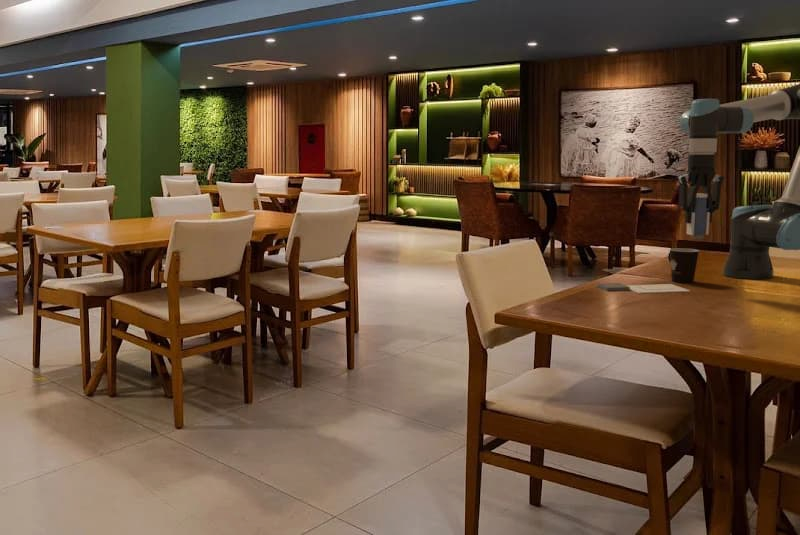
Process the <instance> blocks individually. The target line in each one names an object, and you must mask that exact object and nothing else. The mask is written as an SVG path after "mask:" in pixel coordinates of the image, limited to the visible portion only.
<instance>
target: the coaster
mask: <svg viewBox="0 0 800 535" xmlns="http://www.w3.org/2000/svg"><path fill="white" fill-rule="evenodd" d="M597 288H600V289H602V290H604V291H606V292H615V291H616V292H619V291H620V292H621V291H631V290H630V287H628V285H625V284H623V283H620V282H608V283H607V282H605V283H597Z"/></svg>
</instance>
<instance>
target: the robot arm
mask: <svg viewBox="0 0 800 535" xmlns="http://www.w3.org/2000/svg"><path fill="white" fill-rule="evenodd" d="M690 106H691V107H690V109H688V110H685V111H684V112H683V113H682V115H681V116H680V119H679V120H680V121H679V125H680V128H681V130H682V132H684V133H685V134H688V135H689V137H688V138H689V140H688V153H690V154H688V155H687V171H686V173H685V174H683V175H678V176H677V181H678V184H679V185H678V188H679V190H678V209H679V210H681V211H683V212H684V222H685V224H686V235H690V236H691V235H694V223H695V213H694V212H692V211H693V207H694V203H695V199H696V195H697V193H698V191H699V189H700V187H701V189H702V190H701V191H702V193H704V194H708V197H707V208H706V224H705V234H704V236H705V235H706V236H707V235H708V236H709V232H710V224H711V223H712V222H713V221H712V220H713V213H715V211H717V210H719V209H720V202H721V193H722V192H721V191H722V184H723V182H724V180H725V177H724V176H722V175H719V174H718V173H717V174H716V169H715V168H716V163H717V155H716V154H715V153H716V152H717V150H718V149H717V147H718V146H717V145H718V134H742V133H743V134H744V133H746V132H749V131H750V129H751V128H752V127H753V125H754V123H757V122H762V121H767V120H768V121H769V120H775V121H782V120H800V83H798V84H795V85H792V86H791V85H790V86H788V87H785V88H781V89H775V90H773V91H771V93H769V94H767V95H763V96H757V97H752V98H748V99H744V100H743V99H742V100H737V101H733V102H728V103H723V104H720V100H719V99H717V98H698V99H694V100H693V101H691V105H690ZM794 158H795V159H794V161H793V163H792V167H791V170H790V173H789V176H788V178H787V181H786V184H785V186H784V189H783V192H782V195H781V197H780V198H778V199H776V200H774V201H773V205H771V204H759V205H742V206H741V205H740V206H736V207H735V208H734V209H733V210H732V216H731V222H730V226H731V227H730V243H729V244H730V246H729V253H728V255H727V257H726V260H725V262H724V265H723V267H722V275H723V276H725V277H730V278H738V279H746V280H747V279H748V280H766V279H771V278H774V268H773V264H772V260H771V257H770V248H776V249H780V250H781V249H782V250H784V251H799V250H800V146H799V147H798V150H797V153H796V155H795V157H794ZM712 181H713V183H712ZM688 182H689V186H688ZM688 189H689V190H688Z"/></svg>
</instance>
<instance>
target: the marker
mask: <svg viewBox="0 0 800 535" xmlns="http://www.w3.org/2000/svg"><path fill="white" fill-rule="evenodd" d="M707 197H708V194H704V193H703V192H702V193H701V192H699V193H698V192H697V195H696V199H695V203H694V207H693V211H692V212H694V213H695V223H694V235H690V238H691V239H693V240H694V239H695V240H696V239H697V240H702V239H704V236H705V224H706V208H707Z"/></svg>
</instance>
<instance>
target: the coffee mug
mask: <svg viewBox="0 0 800 535" xmlns="http://www.w3.org/2000/svg"><path fill="white" fill-rule="evenodd" d="M699 251H700V250H699V249H695V248H687V247H686V248H681V247H680V248H679V247H677V248H676V247H675V248H670V249H669V253H668V255H667V256H668V257H667V259H668V262H669V264H670V276H671V282H672V283H677V284H692V283H694V282H695V281H694V280H695V275H696V268H697V263H698V260H699V253H700V252H699Z"/></svg>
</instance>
